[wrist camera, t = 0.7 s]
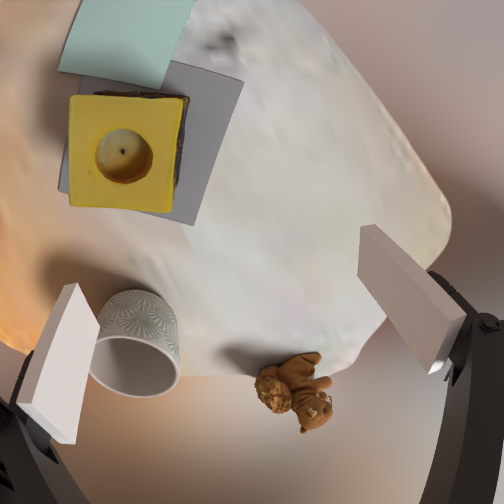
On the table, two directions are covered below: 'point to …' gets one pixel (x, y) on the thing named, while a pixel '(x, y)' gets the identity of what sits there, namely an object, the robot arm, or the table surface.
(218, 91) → the gray mat
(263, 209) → the table surface
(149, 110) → the candle
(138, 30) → the pad
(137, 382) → the planter
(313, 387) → the stuffed squirrel
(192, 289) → the table surface
